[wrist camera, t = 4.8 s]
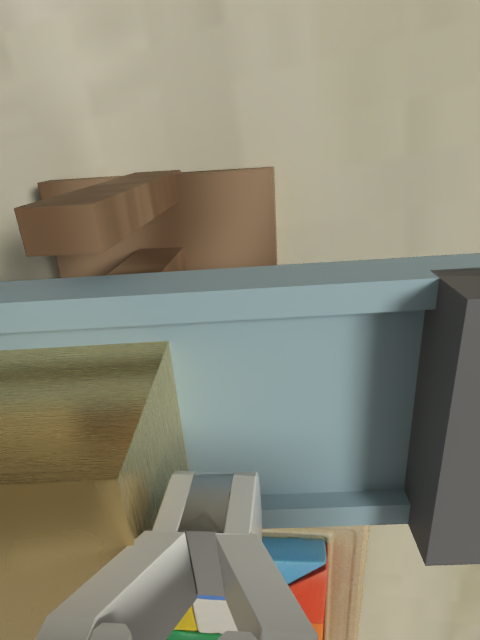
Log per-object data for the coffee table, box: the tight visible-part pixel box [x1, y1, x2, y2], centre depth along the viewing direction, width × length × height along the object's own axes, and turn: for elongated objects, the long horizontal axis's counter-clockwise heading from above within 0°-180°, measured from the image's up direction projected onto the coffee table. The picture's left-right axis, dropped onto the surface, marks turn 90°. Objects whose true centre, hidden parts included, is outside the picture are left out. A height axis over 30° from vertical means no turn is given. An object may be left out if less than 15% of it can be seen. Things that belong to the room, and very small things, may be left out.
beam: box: [0, 253, 480, 566], centre depth 12 cm, size 22×8×3 cm, turn 94°
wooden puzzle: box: [166, 525, 370, 640], centre depth 28 cm, size 18×19×4 cm
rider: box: [0, 341, 189, 640], centre depth 10 cm, size 6×5×5 cm
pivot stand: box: [14, 167, 277, 278], centre depth 17 cm, size 10×12×9 cm
